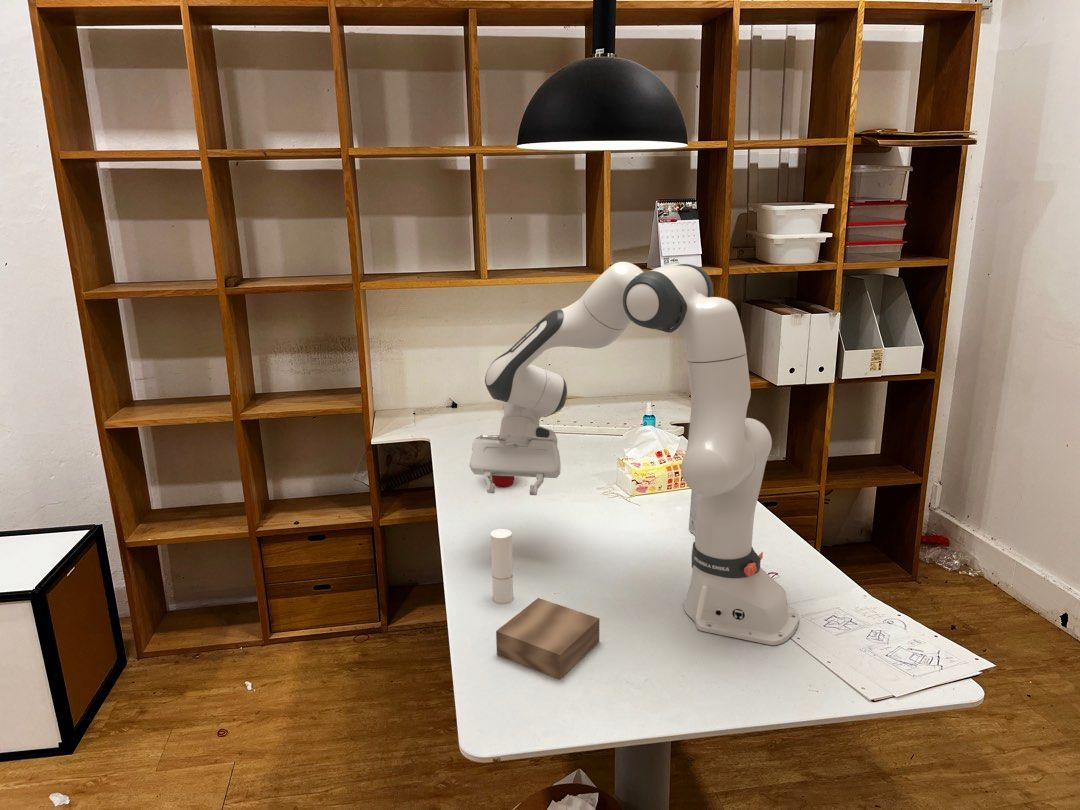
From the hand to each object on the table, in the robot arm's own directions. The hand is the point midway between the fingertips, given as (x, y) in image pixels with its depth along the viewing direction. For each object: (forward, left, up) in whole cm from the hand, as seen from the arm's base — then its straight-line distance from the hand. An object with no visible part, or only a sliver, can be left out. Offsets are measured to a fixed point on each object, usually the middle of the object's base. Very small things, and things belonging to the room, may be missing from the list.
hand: (511, 493), depth 175 cm
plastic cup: (+32, -40, -19) cm, 54 cm away
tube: (-5, +11, -19) cm, 23 cm away
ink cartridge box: (-30, -39, -19) cm, 53 cm away
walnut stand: (-23, +21, -19) cm, 36 cm away
